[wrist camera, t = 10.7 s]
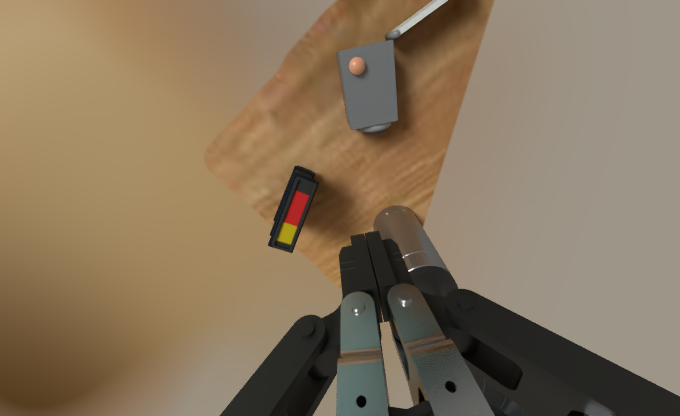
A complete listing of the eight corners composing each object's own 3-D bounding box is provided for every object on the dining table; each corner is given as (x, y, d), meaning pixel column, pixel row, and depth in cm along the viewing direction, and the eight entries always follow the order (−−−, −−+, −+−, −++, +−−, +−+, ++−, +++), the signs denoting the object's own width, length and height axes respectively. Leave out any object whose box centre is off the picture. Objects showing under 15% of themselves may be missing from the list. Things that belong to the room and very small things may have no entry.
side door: (461, -26, 33) (481, -38, 29) (464, -16, 33) (484, -26, 29) (382, 32, 36) (391, 29, 31) (386, 41, 36) (395, 39, 32)
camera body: (389, 121, 42) (401, 131, 36) (348, 130, 42) (353, 141, 37) (383, 41, 36) (396, 38, 30) (335, 52, 36) (338, 51, 31)
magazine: (270, 227, 50) (267, 248, 35) (293, 165, 49) (300, 161, 35) (288, 232, 51) (292, 255, 36) (311, 172, 50) (324, 171, 36)
